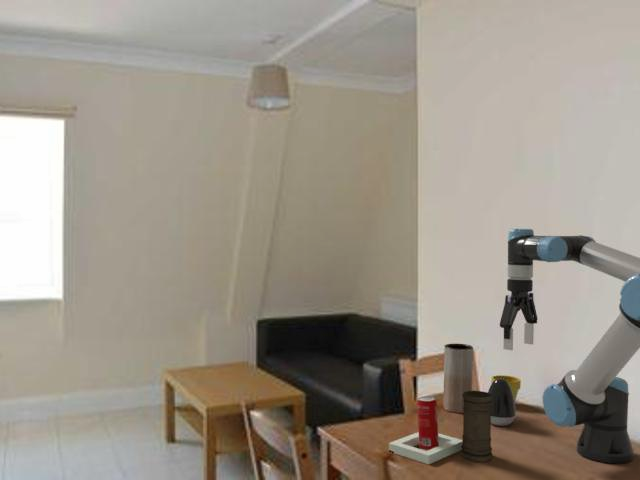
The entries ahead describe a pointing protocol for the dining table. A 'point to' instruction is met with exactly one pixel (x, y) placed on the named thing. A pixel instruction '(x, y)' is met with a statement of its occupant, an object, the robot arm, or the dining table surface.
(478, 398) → the container
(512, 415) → the dark grey domed cylinder
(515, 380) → the plant pot
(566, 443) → the dining table surface
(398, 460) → the dining table surface
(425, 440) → the beverage can
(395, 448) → the socket block
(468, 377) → the planter
